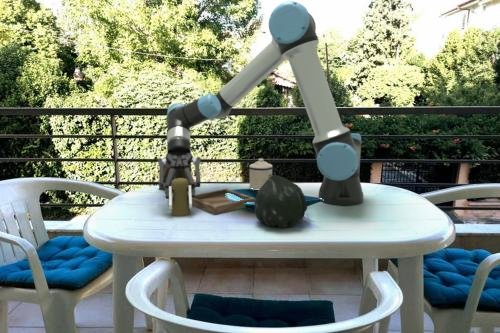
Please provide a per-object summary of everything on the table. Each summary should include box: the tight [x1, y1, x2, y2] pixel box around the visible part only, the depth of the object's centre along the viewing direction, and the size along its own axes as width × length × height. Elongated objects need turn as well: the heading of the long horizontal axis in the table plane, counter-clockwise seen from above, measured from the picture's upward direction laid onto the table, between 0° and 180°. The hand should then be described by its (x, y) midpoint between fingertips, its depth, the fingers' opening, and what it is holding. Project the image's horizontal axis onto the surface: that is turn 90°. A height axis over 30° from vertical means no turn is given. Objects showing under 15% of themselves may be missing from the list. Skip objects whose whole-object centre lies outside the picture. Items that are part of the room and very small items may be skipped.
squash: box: [254, 174, 308, 229], centre depth 108 cm, size 14×15×15 cm
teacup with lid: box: [248, 158, 274, 189], centre depth 148 cm, size 12×9×12 cm
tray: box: [188, 188, 256, 216], centre depth 127 cm, size 16×16×2 cm
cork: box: [170, 178, 192, 218], centre depth 117 cm, size 6×6×11 cm
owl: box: [158, 142, 193, 193], centre depth 145 cm, size 13×13×20 cm
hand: (180, 206), depth 114 cm, fingers closed on cork, 5 cm apart
